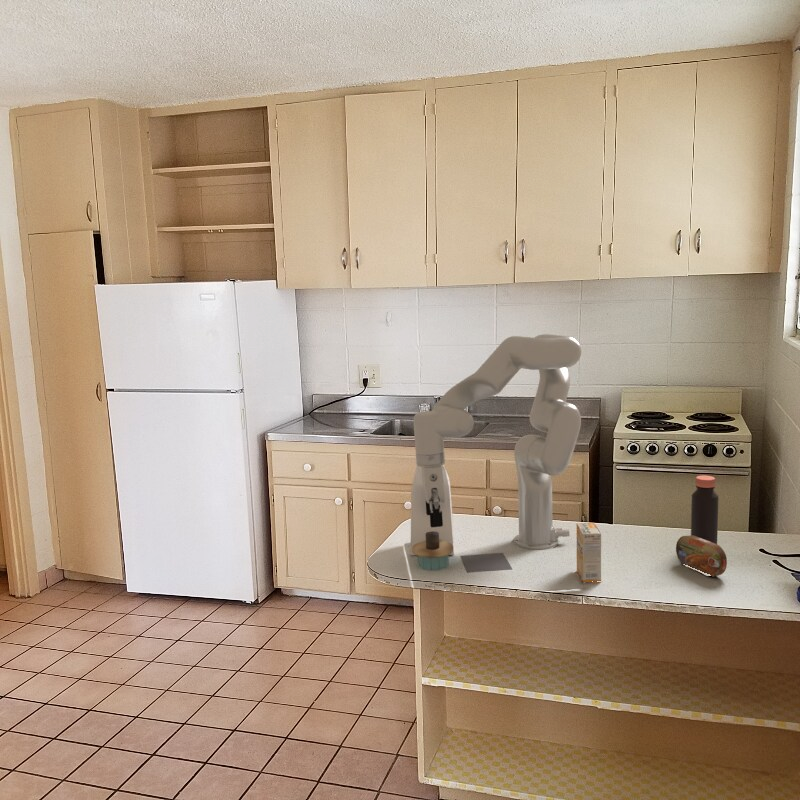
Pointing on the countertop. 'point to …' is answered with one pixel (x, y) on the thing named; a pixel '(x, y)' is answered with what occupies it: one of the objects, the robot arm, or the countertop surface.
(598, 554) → the supplement box
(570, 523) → the countertop surface
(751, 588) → the countertop surface
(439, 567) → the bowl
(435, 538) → the lid
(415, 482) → the milk
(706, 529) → the bottle
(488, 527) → the countertop surface
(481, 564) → the mat
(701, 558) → the tin
